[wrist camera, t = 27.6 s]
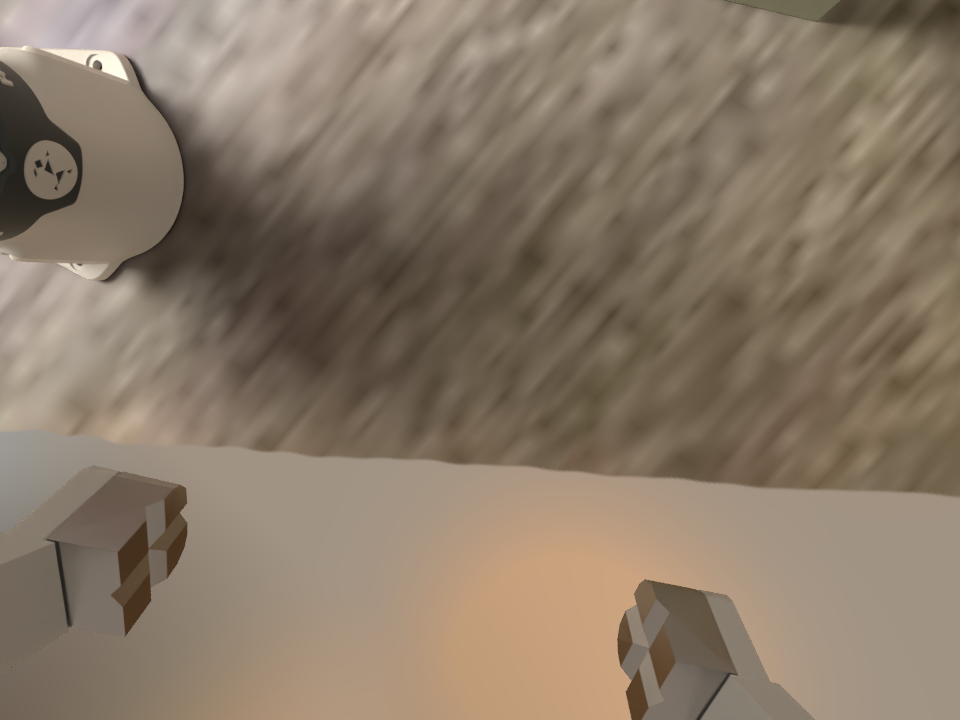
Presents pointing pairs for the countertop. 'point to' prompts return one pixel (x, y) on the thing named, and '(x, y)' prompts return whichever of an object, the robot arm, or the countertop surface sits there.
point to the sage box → (794, 7)
